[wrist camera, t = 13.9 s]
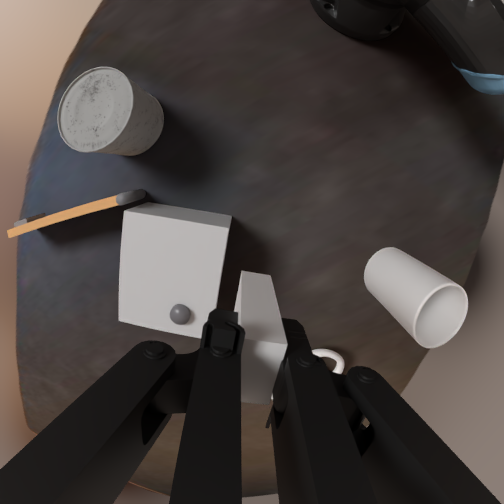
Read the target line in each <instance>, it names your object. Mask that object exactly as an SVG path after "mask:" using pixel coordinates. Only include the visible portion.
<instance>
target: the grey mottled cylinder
mask: <svg viewBox="0 0 504 504" xmlns="http://www.w3.org/2000/svg"><path fill="white" fill-rule="evenodd" d="M57 122H58V129H59V132H60V134H61V137H62V138H63V140H64V141H65V143H66V144H67V145H68V146H70V147H71V148H72V149H74V150H77V151H79V152H88V153H89V152H99V153H110V154H120V155H125V156H133V155H137V154H140V153H143V152H144V151H146V150H148V149H149V148H150V147H151V146H152V145H153V144H154V143H155V142H156V141H157V139H158V138H159V136H160V134H161V132H162V128H163V124H164V114H163V110H162V107H161V105H160V103H159V102H158V101H157V99H156V98H155V97H153V96H152V95H150V94H148V93H147V92H146V91H145V90H143V89H142V88H141V87H139V86H138V85H137V84H135V83H134V82H133V81H131V80H130V79H129V78H127V77H126V76H125V75H124V74H123V73H122V72H120V71H119V70H117V69H115V68H111V67H98V68H94V69H91V70H88V71H86V72H84V73H83V74H81V75H80V76H79V77H77V78H76V79H75V80H74V81H73V82H72V83H71V84H70V85H69V87H68V88H67V90H66V91H65V93H64V95H63V97H62V99H61V102H60V105H59V109H58V118H57Z"/></svg>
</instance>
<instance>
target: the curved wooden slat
mask: <svg viewBox="0 0 504 504" xmlns="http://www.w3.org/2000/svg"><path fill="white" fill-rule="evenodd" d="M145 196H146V192H145V191H144V190H143V189H139V190H134V191H130V192H125V193H120V194H118V195H116V196H112V197H109V198H105V199H102V200H98V201H95V202H91V203H88V204H84V205H81V206H78V207H74V208H71V209H68V210H65V211H62V212H58V213H55V214H52V215H49V216H45V213H43V214H39V215H36V216H33V217H29V218H26V219H23V220H21V221H18V222H15V223H14V226H15V228H12V229H9V230H7V232H8V237H9V238H11V237H14V236H17V235H20V234H23V233H26V232H29V231H32V230H35V229H38V228H41V227H44V226H47V225H50V224H54V223H57V222H60V221H64V220H67V219H70V218H74V217H77V216H81V215H84V214H88V213H91V212H95V211H99V210H102V209H106V208H110V207H114V206H117V205H124V204H128V203H131V202H134V201H137V200H141V199H143V198H145Z"/></svg>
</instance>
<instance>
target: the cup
mask: <svg viewBox="0 0 504 504" xmlns="http://www.w3.org/2000/svg"><path fill="white" fill-rule="evenodd" d="M364 282H365V285H366V287H367V289H368V290H369V292H370V293H371V294H372V295H373V296H374V297H375V298H376V299H377V300H378V301H379V302H380V303H381V304H382V305H383V306H384V307H385V308H386V309H387V310H388V311H389V313H390V314H391V315H392V316H393V317H394V318H395V319H396V320H397V321H398V322H399V323H400V324H401V325H402V326H403V328H404V329H405V330H406V331H407V332H408V333H409V334H410V335H411V336H412V337H413V338H414V339H415V341H416V342H417V343H418V344H420V345H421V346H423V347H425V348H436V347H439V346H441V345H443V344H445V343H446V342H448V341H449V340H450V339H452V337H454V336H455V334H456V333H457V332H458V330H459V329H460V328H461V326H462V324H463V322H464V320H465V318H466V315H467V310H468V298H467V294H466V292H465V290H464V289H463V288H462V287H461V286H460V285H458V284H456V283H455V282H453V281H452V280H450V279H449V278H447V277H445V276H444V275H442V274H440V273H439V272H437V271H435V270H434V269H432V268H430V267H429V266H427V265H425V264H424V263H422V262H420V261H418V260H417V259H415V258H413V257H412V256H410V255H408V254H406V253H405V252H403V251H401V250H399V249H397V248H393V247H388V248H384V249H381V250H379V251H378V252H376V253H375V254H374V255H373V256H372V257H371V258H370V260H369V261H368V263H367V265H366V268H365V272H364Z"/></svg>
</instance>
